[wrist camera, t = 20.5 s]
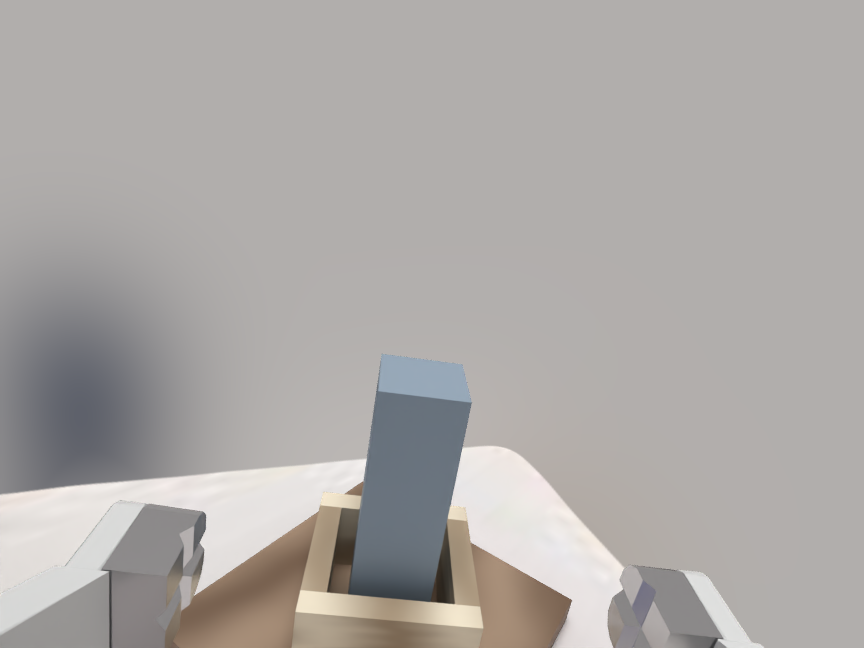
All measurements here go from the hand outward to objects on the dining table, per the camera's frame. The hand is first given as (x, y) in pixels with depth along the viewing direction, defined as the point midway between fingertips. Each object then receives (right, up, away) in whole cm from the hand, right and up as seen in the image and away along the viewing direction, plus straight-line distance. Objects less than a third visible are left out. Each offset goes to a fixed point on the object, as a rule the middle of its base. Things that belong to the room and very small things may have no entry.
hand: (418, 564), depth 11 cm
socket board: (-3, -12, +20) cm, 23 cm away
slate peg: (-2, -11, +19) cm, 22 cm away
